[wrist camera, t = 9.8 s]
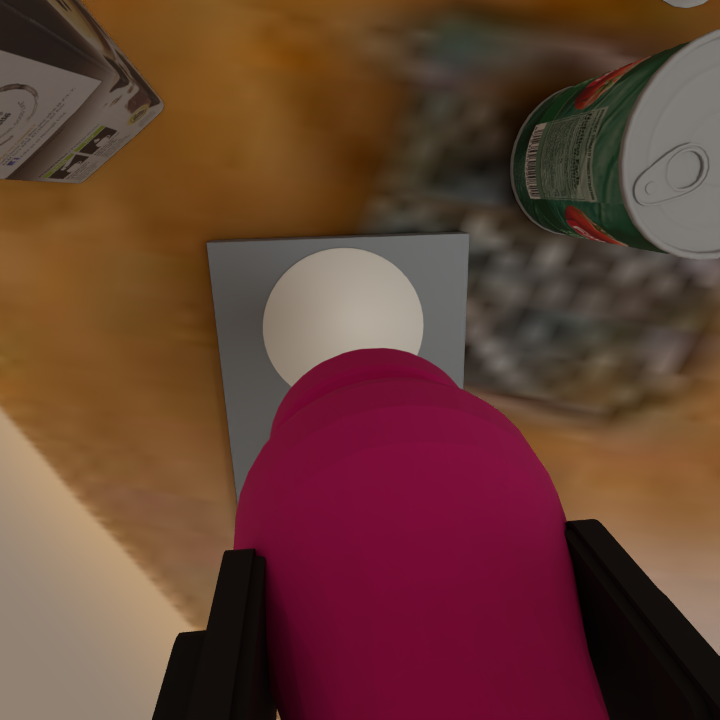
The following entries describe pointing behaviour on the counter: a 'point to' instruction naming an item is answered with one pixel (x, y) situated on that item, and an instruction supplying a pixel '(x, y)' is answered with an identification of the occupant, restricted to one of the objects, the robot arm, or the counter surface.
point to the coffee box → (64, 93)
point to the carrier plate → (328, 314)
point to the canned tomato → (630, 155)
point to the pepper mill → (411, 554)
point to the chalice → (685, 3)
